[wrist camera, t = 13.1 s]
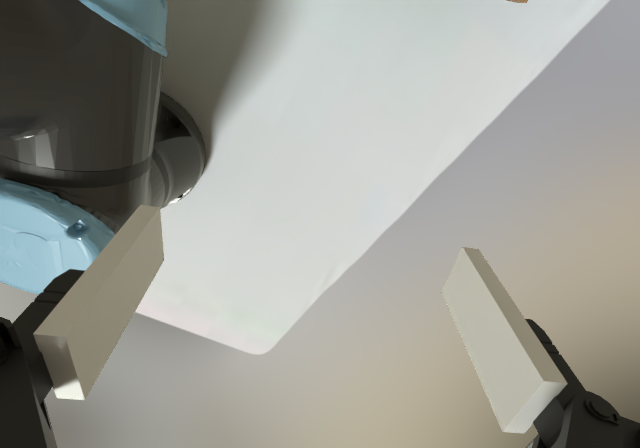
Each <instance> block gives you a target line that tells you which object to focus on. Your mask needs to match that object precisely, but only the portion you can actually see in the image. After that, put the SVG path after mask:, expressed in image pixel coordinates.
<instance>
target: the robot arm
mask: <svg viewBox="0 0 640 448" xmlns="http://www.w3.org/2000/svg"><path fill="white" fill-rule="evenodd" d="M166 25H167V3H166V0H0V282H2V283H5V284H7V285H10V286H12V287H14V288H17V289H20V290H23V291H28V292H31V293H36V294H39V295H38V296H37V298H36V299H35V301H34V302H32V303H31V304H30V305H29V306H28V307H27V308H26V310H25V311H24V312H23V313H22V314H21V315H20V316H19V317H18V318H17V319H16V321H14V323H13V324H12V323H11V322H10V320H7V319H5V318H2V317H0V448H57V445H56V441H55V438H54V434H53V430H52V426H51V422H50V419H49V415H48V411H47V408H46V404H45V401H44V399H45V397H46V395H47V394H48V392H49V391H50V390H51V388H52V387H53V389H54V391H55V394H56V397H57V398H64V399H77V400H85V399H86V397H87V395H88V393H89V392H90V390H91V388H92V386H93V385H94V383H95V381H96V379H97V378H98V376H99V374H100V372H101V370H102V369H103V367H104V365H105V363H106V362H107V360H108V358H109V356H110V355H111V353H112V351H113V349H114V348H115V346H116V344H117V342H118V340H119V339H120V337H121V335H122V333H123V332H124V330H125V328H126V326H127V325H128V323H129V321H130V319H131V317H132V316H133V314H134V312H135V310H136V309H137V307H138V305H139V303H140V302H141V300H142V298H143V296H144V294H145V293H146V291H147V289H148V287H149V286H150V284H151V282H152V280H153V279H154V277H155V275H156V273H157V271H158V270H159V268H160V266H161V264H162V263H163V261H164V253H163V241H162V228H161V215H160V209H161V208H163V207H166V206H167V205H169V204H172V203H174V202H177V201H179V200H180V199H182V198H183V197H185V196H186V195H187V194H188V193H189V192H190V191H191V190H192V189H193V188H194V186H195V185H196V183H197V182H198V180H199V178H200V177H201V175H202V172H203V169H204V165H205V147H204V142H203V139H202V136H201V133H200V131H199V129H198V127H197V125H196V124H195V122H194V121H193V119H192V118H191V117H190V115H189V114H188V113H187V112H186V111H185V110H184V109H183V108H182V107H181V106H180V105H179V104H178V103H177V102H175V101H174V100H173V99H171V98H170V97H168V96H166V95H165V94H163V93H161V92H160V88H161V80H162V71H163V62H164V57H167V53H168V52H167V49H166V48H165V39H166ZM441 293H442V295H443V297H444V299H445V302H446V304H447V306H448V309H449V311H450V313H451V315H452V318H453V320H454V322H455V324H456V327H457V329H458V331H459V334H460V336H461V338H462V340H463V343H464V345H465V347H466V349H467V352H468V354H469V356H470V359H471V361H472V363H473V365H474V368H475V370H476V372H477V375H478V377H479V379H480V381H481V383H482V386H483V388H484V390H485V393H486V395H487V397H488V399H489V402H490V404H491V406H492V409H493V411H494V413H495V415H496V418H497V420H498V422H499V425H500V427H501V429H502V431H503V432H514V433H525V432H526V431H527V429H528V428H529V427H530V426H531V425H532V424H534V425H535V427H536V429H537V431H538V433H539V434H538V435H537V436H536V437H535V438H534V439H533V441H531V443H530V444H529V445H528V446H527V447H526V448H640V423H637V422H635V421H632V420H629V419H627V418H624V417H621V416H620V415H619V414H618V412H617V411H616V410H615V409H614V408H613V406H611V404H610V403H608V402H607V401H606V400H604V399H603V398H602V397H600V396H598V395H596V394H594V393H592V392H588V391H586V390H585V389H584V387H583V386H582V384H581V383H580V382H579V380H578V379H577V377H576V376H575V375H574V373H573V372H572V370H571V369H570V367H569V366H568V364H567V363H566V362H565V360H564V359H563V357H562V356H561V355H559V351H558V350H557V349H556V347H555V346H554V345H552V342H551V340H550V339H549V337H548V336H547V335H546V333H545V332H544V330H542V328H540V327H539V326H538V325H537V324H536V323H535V322H534V321H533V320H530V319H525V318H524V317H523V315H522V314H521V312H520V311H519V309H518V308H517V306H516V305H515V303H514V302H513V300H512V299H511V297H510V296H509V294H508V293H507V291H506V290H505V288H504V287H503V285H502V284H501V283H500V281H499V279H498V278H497V276H496V275H495V273H494V272H493V270H492V269H491V267H490V266H489V264H488V263H487V261H486V260H485V258H484V256H483V255H482V253H481V252H480V250H479V249H473V248H464V247H462V250H461V252H460V254H459V256H458V258H457V260H456V262H455V265H454V267H453V269H452V271H451V273H450V275H449V277H448V279H447V282H446V284H445V286H444V288H443V290H442V292H441Z"/></svg>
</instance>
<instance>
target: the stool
mask: <svg viewBox="0 0 640 448" xmlns="http://www.w3.org/2000/svg"><path fill="white" fill-rule="evenodd" d="M508 1H512V2H517V3H527V1H528V0H508Z"/></svg>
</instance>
